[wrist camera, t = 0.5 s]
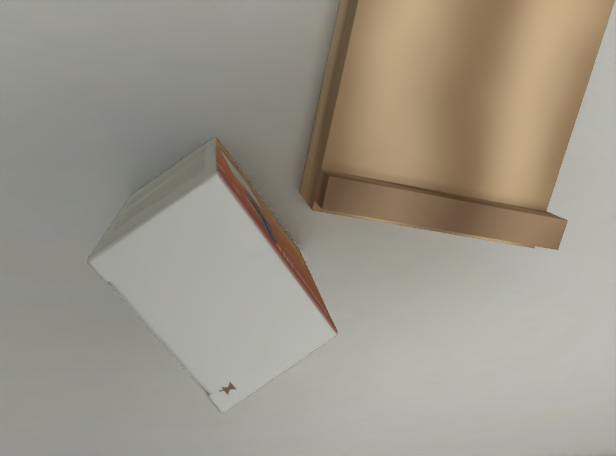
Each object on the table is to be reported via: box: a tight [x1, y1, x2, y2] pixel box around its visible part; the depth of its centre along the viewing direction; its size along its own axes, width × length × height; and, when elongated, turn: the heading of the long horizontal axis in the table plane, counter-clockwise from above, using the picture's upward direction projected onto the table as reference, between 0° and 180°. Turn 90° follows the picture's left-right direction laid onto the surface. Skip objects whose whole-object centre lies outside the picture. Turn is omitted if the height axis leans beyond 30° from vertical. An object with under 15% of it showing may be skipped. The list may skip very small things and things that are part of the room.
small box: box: [87, 138, 338, 413], centre depth 25 cm, size 8×6×10 cm
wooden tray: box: [299, 0, 615, 250], centre depth 27 cm, size 12×15×6 cm
